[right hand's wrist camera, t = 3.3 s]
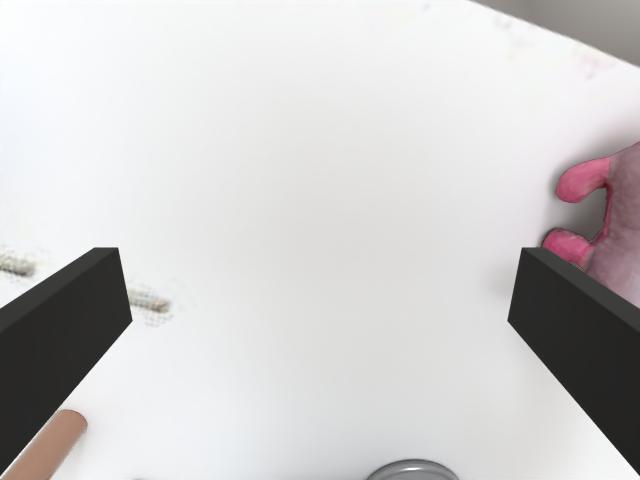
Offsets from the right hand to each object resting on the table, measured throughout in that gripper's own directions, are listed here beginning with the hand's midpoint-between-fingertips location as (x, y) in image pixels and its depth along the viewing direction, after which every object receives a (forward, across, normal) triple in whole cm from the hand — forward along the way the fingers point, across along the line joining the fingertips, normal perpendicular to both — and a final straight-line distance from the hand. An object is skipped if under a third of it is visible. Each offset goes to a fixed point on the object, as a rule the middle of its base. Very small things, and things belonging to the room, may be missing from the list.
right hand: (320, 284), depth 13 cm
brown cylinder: (+28, +34, +35) cm, 56 cm away
